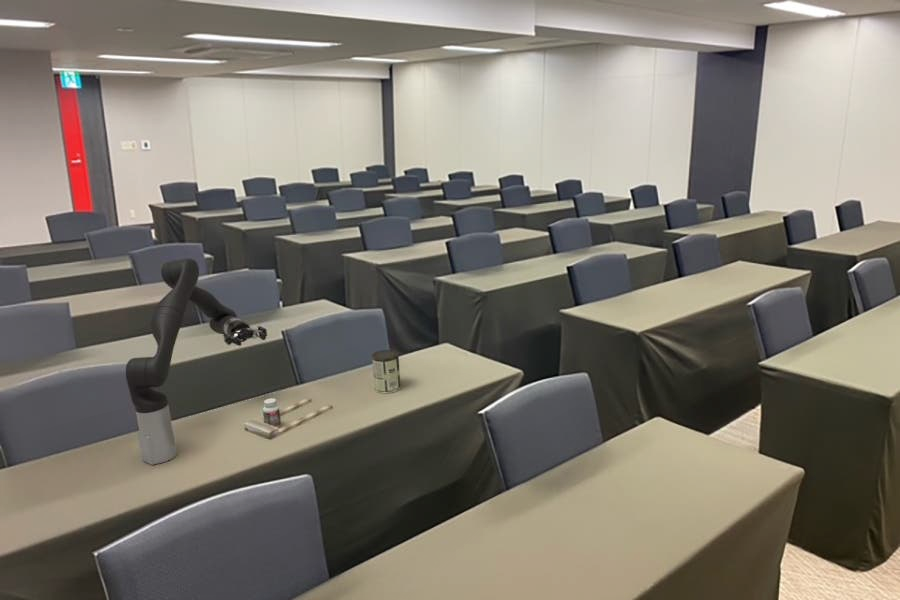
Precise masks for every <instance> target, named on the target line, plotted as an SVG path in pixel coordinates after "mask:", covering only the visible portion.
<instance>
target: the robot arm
mask: <svg viewBox="0 0 900 600" xmlns="http://www.w3.org/2000/svg"><path fill="white" fill-rule="evenodd" d="M160 272H161V273H160V275H161V277H162V279H163V282H164V283H165V284H166V285H167V286H168V287H169V288H170V289H171V290H170V291H168V293H167V294H166V295H164V297H162V299H160V301H158V303H157V304H156V306H155V307H154V309H153V312H152V315H151V318H150V320H149V329H150V332H151V334H152V336H153V338H154V340H155V343H156V344H157V350H156V353H155V355H154V356H146V357H145V356H144V357H143V356H141V357H133V358H130V359H129V360H128V362H127V363H126V365H125V379H126V383H127V387H128V391H129V395H130V399H131V402H132V404H133V406H134V410H135V413H136V418H137V424H138V430H139V431H138V432H137V440H138V445H139V449H140V455H141V459H142V461H143V462H145V463H147V464H149V465H151V466H155V465H158V464H162V463H166V462H168V460H169V461H170V460H172V459H174V458H175V457H176V456H177V455H178V453H177V452H178V450H177V445H176V442H175V436H174V435H175V434H174V429H173V424H172V423H173V422H172V418H171V412H170V407H169V406H170V405H169V402H168V397H167V395H166V394H165V393H163V392H159V391H157V390H155V389H153V388H160V387H162V386H163V385H165V383H166V381H167V378H168V377H169V373H170V368H171V363H172V357H173V354H174V352H173V351H174V349H175V345H176V341H177V338H178V335H179V332H180V328H181V326H182V323H183V320H184V318H185V317H184V316H185V313H186V309H187V306H188V304H189V302H191V303H192V304H193V305H194V306H195V307H197V309H199V311H201V312H202V314H203V315H204V316H206V317H207V318H208V319H210V320H209V327H210V329H211V330H212V331H213V332H215V334H219V335H223V341H224V342H225V344H226V345H228V346H230V345H232V344H233V345H236V346H239V347H240V346H242V343H244V342H246V341H247V340H256V339H260V340H262V341H266V339H267V336H268V334H267V333H268V332H267V331H268V330H267V329H266V328H264V327H263V326H261V325H260V326H257V328H251V326H250V325H249V324H248V323H246V322H245V321H243V320H242V319H240V318H238V316H237V313H236V312H235V310H233V309H232V308H229V307H227V306H225V305H224V304H222V303H221V302H220V301H219V300H218V299H217V298H216V297H215V295H213V294H212V293H211V292H209V290H208V291H207V290H206V289H203V288H201V287H199V286H196V285H197V283H198V281H199V275H200V268H199V264H198V263H197V261H196V259H193V258H180V259H176V260H171V261H167V262H165V263H163V265H162V266H161V271H160ZM154 464H155V465H154Z"/></svg>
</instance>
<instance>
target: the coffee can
mask: <svg viewBox="0 0 900 600" xmlns="http://www.w3.org/2000/svg"><path fill="white" fill-rule="evenodd" d="M371 359H372V361H371V362H372V370H373V372H372V373H373V381H374V391H375V393H378V392H379V394H384V393H386V394H392V392H393V393H396V392H398V391H399V390H401V389H402V386H401V372H400V359H399V351H397V350H394V349H382V350H378V351H375V352H373V353H372V354H371ZM400 388H401V389H400Z"/></svg>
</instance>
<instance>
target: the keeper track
mask: <svg viewBox="0 0 900 600" xmlns="http://www.w3.org/2000/svg"><path fill="white" fill-rule="evenodd" d="M311 402H312V399H311V398H309V397H306V398H303V399H302V400H300V401H298V402H295V403H294V404H291V405H288V406H287V407H285V408H282V409H279V411H280V417H281V416H284V415H286V414H289V413H290V412H292V411H294V410H296V409H299V408H300V407H303V406H305V405H307V404H309V403H311ZM331 408H332V409H333V405H331V404H325V405H324V406H323V407H321V408H319V409H316V410H314V411H313V412H312V411H311V413H309V414H306V415H304V416H302V417H300V418H298V419H297V420H294V421H292V422H290V423H288V424H286V425H284V426H281V427H279V428H277V427H274V426H272V425H269V424H266V423H265V422H264V417H263V418H262V419H256V418H252V419H250V420H248V421H246V422H244V423H243V427H244V431H246V432H249V433H252V434H254V435H257V436H259V437H262V438H264V439H267V440H269V441H270V440H272V439H274V438H276V437H278V436H280V435H282V434H284V433H286V432H289V431H291V430H292V429H294V428H295V427H298V426H300V425H302V424H304V423H306V422H308V421H310V420H312V419H314V418H316V417H318V416H320V415H322V414H324V413H326V412H328V411H329V409H330V410H332V409H331ZM327 410H328V411H327ZM325 411H326V412H325ZM323 412H324V413H323ZM321 413H322V414H321ZM319 414H320V415H319ZM315 416H316V417H315ZM305 421H306V422H305ZM303 422H304V423H303ZM301 423H302V424H301ZM283 432H284V433H283ZM281 433H282V434H281ZM279 434H280V435H279ZM277 435H278V436H277Z"/></svg>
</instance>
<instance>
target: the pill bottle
mask: <svg viewBox="0 0 900 600" xmlns="http://www.w3.org/2000/svg"><path fill="white" fill-rule="evenodd" d="M263 405H264V407H263V408H262V414H263V418H264V422H265V423H266V424H269V425H272V426H274V427H277V428H279V429H280V428H281V427H282V421H281V416H280V406H279V405H278V404H277V399H276V398H267V399H265V400H263Z"/></svg>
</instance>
